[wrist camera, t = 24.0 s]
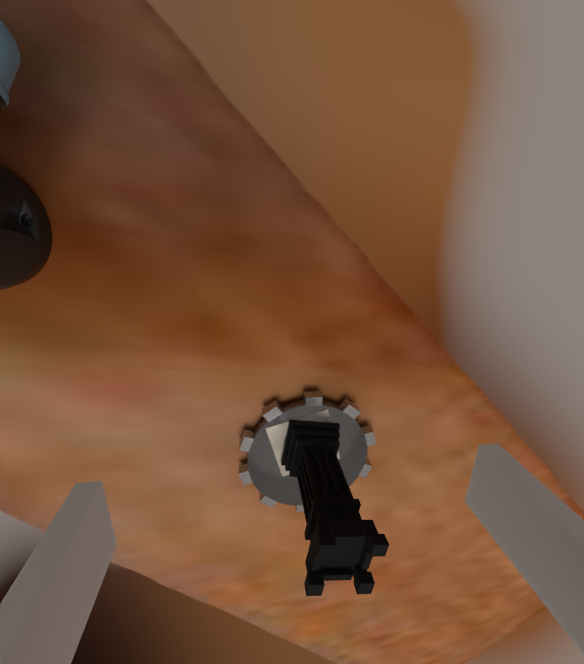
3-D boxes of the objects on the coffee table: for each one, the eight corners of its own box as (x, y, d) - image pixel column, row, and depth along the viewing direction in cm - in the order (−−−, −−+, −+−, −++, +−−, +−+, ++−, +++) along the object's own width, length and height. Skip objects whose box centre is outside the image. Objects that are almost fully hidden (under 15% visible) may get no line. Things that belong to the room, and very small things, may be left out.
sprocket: (260, 517, 59) (264, 588, 48) (219, 417, 50) (212, 474, 39) (380, 479, 60) (412, 539, 49) (359, 374, 52) (391, 418, 40)
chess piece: (289, 419, 50) (317, 542, 31) (338, 423, 51) (393, 541, 33) (280, 461, 52) (302, 598, 34) (328, 464, 54) (373, 596, 35)
